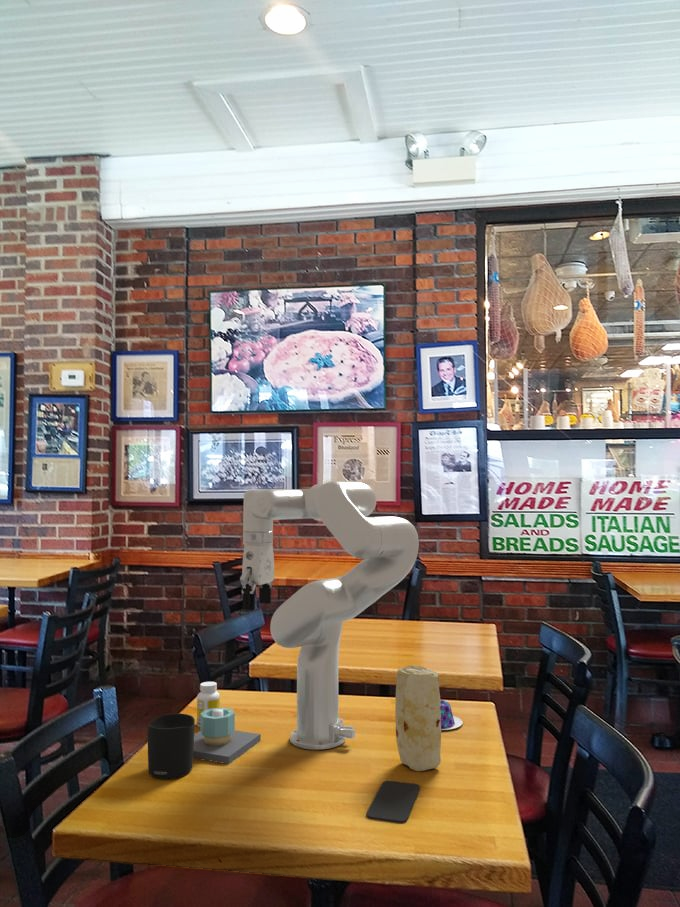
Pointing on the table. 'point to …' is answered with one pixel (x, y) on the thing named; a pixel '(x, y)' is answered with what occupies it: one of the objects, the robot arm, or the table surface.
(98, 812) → the table surface
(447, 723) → the pudding
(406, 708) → the food model
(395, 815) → the phone
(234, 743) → the post stand
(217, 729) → the ring
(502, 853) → the table surface
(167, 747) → the pen holder
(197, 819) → the table surface
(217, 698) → the supplement bottle
